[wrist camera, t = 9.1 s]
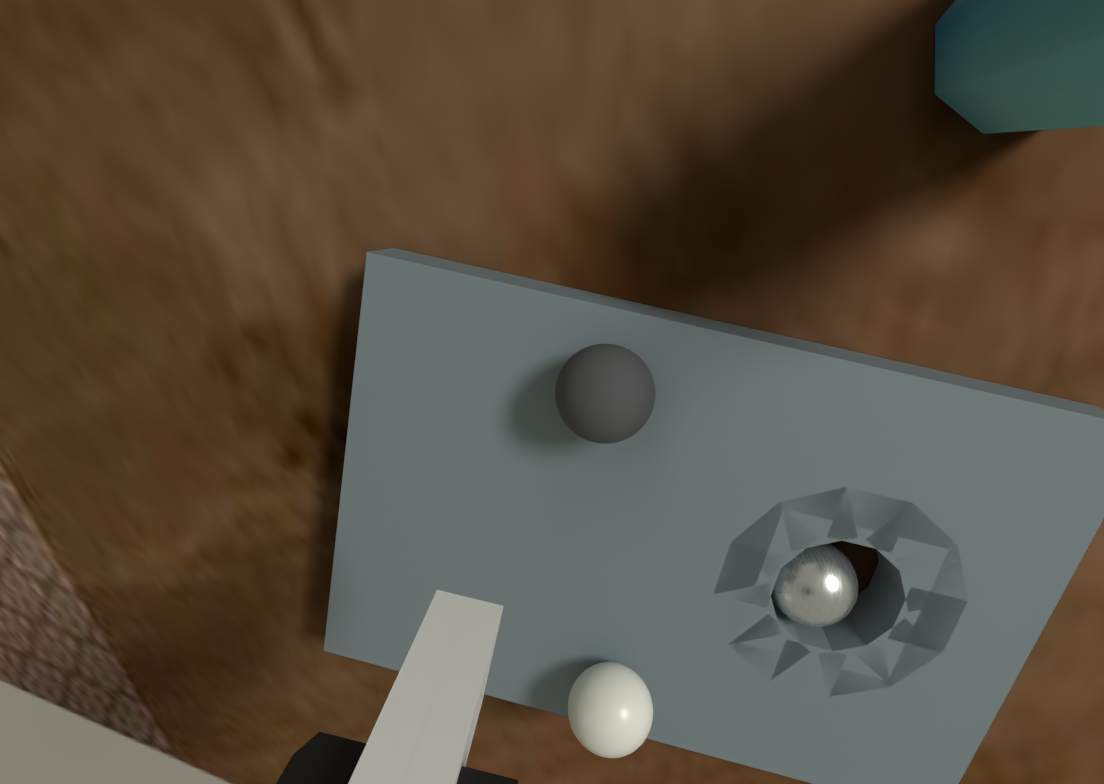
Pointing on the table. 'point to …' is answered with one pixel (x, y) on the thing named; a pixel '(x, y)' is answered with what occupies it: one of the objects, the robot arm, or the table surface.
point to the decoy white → (610, 710)
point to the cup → (1022, 63)
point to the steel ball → (816, 587)
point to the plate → (705, 520)
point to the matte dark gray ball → (605, 393)
